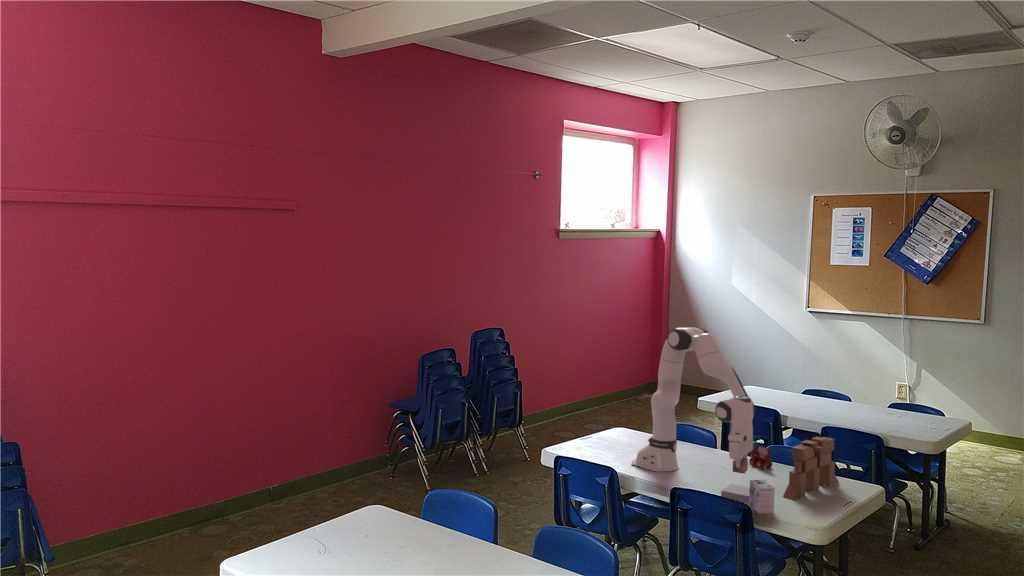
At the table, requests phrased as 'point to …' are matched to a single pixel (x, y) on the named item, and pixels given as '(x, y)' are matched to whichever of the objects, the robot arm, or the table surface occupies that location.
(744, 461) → the walnut cube
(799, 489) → the wooden robot
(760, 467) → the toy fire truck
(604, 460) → the table surface
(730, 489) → the stand
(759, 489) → the light bulb box
